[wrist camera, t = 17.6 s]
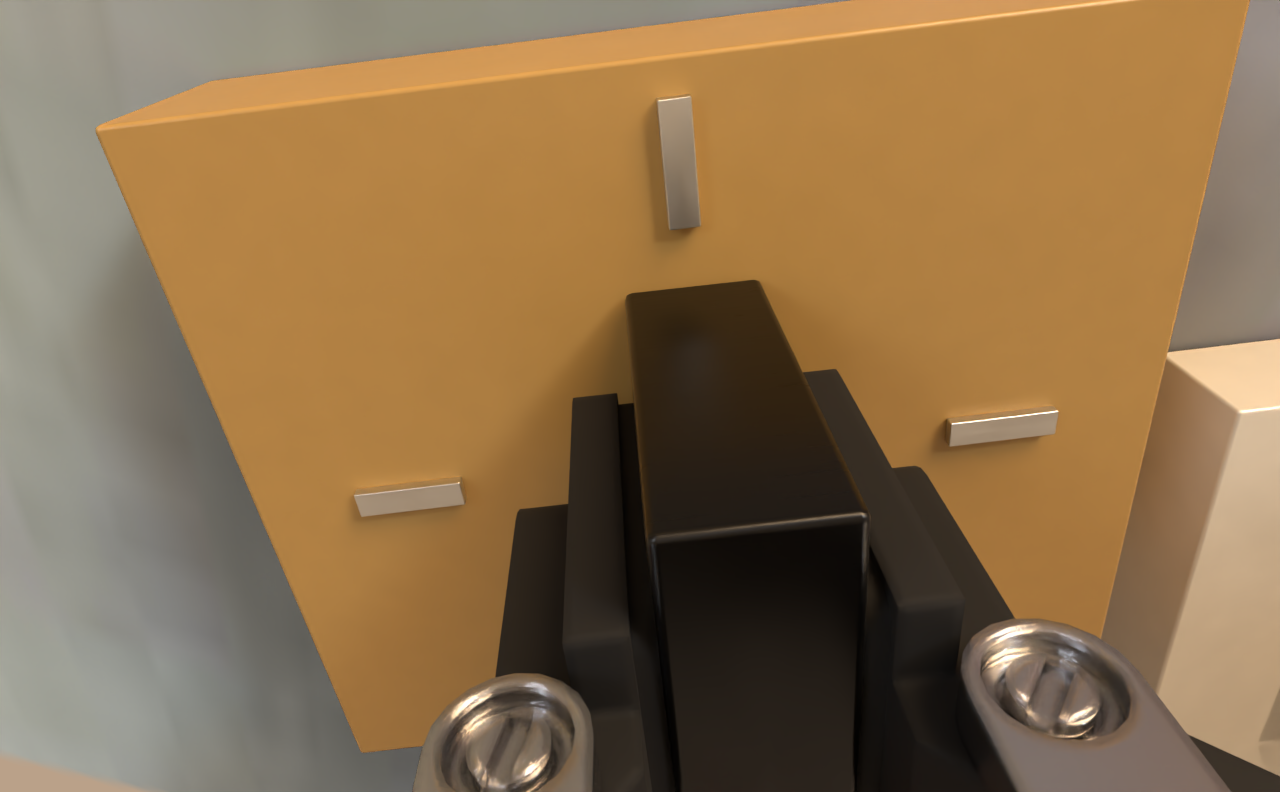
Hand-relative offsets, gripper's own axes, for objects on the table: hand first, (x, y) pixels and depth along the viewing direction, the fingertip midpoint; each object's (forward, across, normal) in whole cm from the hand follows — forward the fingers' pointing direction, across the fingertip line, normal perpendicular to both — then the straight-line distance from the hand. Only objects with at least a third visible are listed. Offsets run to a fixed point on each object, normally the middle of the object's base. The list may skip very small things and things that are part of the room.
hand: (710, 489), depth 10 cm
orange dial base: (+4, 0, 0) cm, 4 cm away
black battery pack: (+1, 0, 0) cm, 1 cm away
